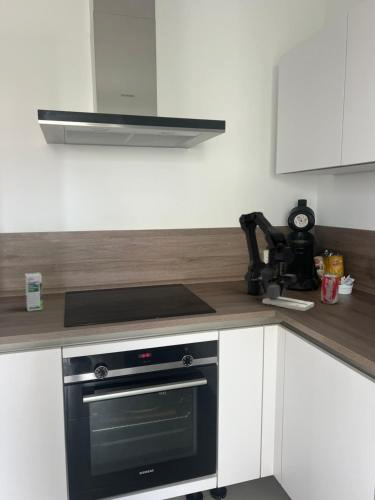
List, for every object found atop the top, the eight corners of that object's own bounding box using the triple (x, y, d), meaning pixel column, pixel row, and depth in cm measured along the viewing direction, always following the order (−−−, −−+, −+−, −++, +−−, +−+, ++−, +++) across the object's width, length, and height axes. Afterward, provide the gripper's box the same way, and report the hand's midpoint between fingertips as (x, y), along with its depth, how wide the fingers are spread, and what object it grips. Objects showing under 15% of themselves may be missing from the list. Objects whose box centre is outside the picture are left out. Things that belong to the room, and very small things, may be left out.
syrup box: (27, 311, 152) (26, 275, 150) (26, 307, 157) (24, 272, 155) (43, 309, 154) (41, 274, 153) (41, 306, 160) (39, 271, 158)
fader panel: (262, 303, 168) (262, 299, 168) (273, 298, 176) (273, 295, 176) (304, 311, 156) (304, 307, 156) (314, 306, 164) (314, 302, 164)
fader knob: (267, 297, 169) (267, 286, 169) (272, 295, 173) (273, 284, 172) (273, 298, 167) (274, 287, 167) (279, 296, 171) (279, 285, 171)
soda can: (319, 303, 169) (321, 276, 168) (322, 299, 175) (323, 273, 174) (336, 305, 166) (338, 277, 164) (338, 301, 172) (340, 275, 171)
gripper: (246, 260, 168) (245, 295, 170) (286, 265, 156) (284, 302, 158) (259, 257, 176) (258, 291, 178) (298, 262, 165) (296, 297, 167)
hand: (273, 295), depth 170 cm, fingers open, 7 cm apart
